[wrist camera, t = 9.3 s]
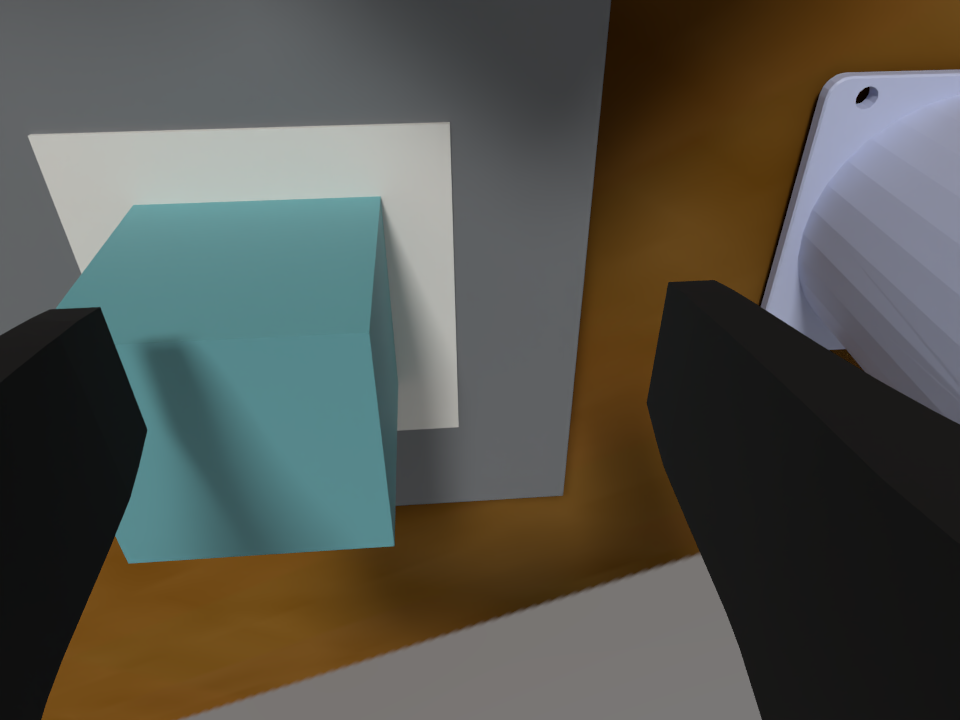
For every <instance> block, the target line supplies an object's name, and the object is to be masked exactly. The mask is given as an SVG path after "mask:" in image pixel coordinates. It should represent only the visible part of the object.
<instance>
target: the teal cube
mask: <svg viewBox="0 0 960 720" xmlns="http://www.w3.org/2000/svg"><path fill="white" fill-rule="evenodd" d="M90 307H101V310H102V313H103V315H104V318H105V320H106V323H107V326H108V328H109V331H110V333H111V336H112V339H113V341H114V344H115V346H116V349H117V352H118V354H119V357H120V359H121V362H122V365H123V367H124V370H125V372H126V375H127V378H128V380H129V383H130V385H131V388H132V391H133V393H134V396H135V398H136V401H137V404H138V406H139V409H140V411H141V414H142V417H143V419H144V422H145V424H146V427H147V435H146V439H145V443H144V447H143V452H142V456H141V460H140V464H139V468H138V472H137V476H136V479H135V483H134V487H133V490H132V494H131V498H130V500H129V503H128V505H127V508H126V510H125V513H124V515H123V518H122V520H121V523H120V525H119V527H118V530H117V532H116V535H115V536H116V538H117V540H118V542H119V545H120V547H121V549H122V551H123V553H124V555H125V557H126V559H127V561H128V563H143V562H158V561H173V560H189V559H204V558H219V557H235V556H250V555H266V554H281V553H296V552H312V551H327V550H342V549H358V548H373V547H389V546H394V544H395V502H396V460H397V418H398V376H397V365H396V355H395V344H394V333H393V323H392V312H391V301H390V291H389V280H388V269H387V258H386V248H385V237H384V226H383V216H382V205H381V196H376V197H348V198H319V199H291V200H263V201H234V202H206V203H178V204H149V205H133V206H132V207H131V209H130V210H129V211H128V213H127V214H126V215H125V217H124V218H123V219H122V221H121V222H120V223H119V225H118V226H117V227H116V229H115V230H114V231H113V233H112V234H111V235H110V237H109V238H108V239H107V241H106V242H105V243H104V245H103V246H102V247H101V249H100V250H99V251H98V253H97V254H96V255H95V257H94V258H93V259H92V261H91V262H90V263H89V265H88V266H87V267H86V269H85V270H84V271H83V273H82V274H81V275H80V277H79V278H78V279H77V281H76V282H75V283H74V285H73V286H72V287H71V289H70V290H69V291H68V293H67V294H66V295H65V297H64V298H63V299H62V301H61V302H60V303H59V305H58V306H57V307H56V309H67V308H90Z"/></svg>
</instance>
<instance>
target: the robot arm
mask: <svg viewBox="0 0 960 720" xmlns="http://www.w3.org/2000/svg"><path fill="white" fill-rule="evenodd" d="M866 87H870V89H869V94H868V96H867V98H866V99H865V100H864V101H862V102H861V103H858V104H856V97H857V96H858V94H859V92H860V91H862V90H863V89H864V88H866ZM837 349H846V350H847V351H848V352H849V353H850V355H851V356H852V357H853V358H854V359H855V361H856V362H857V363H858V364H859V365H860V366H861V368H862V369H863V370H864V371H865V372H864V371H862V370H861V369H859V368H857V367H856V366H854V365H852V364H851V363H849V362H847V361H846V360H844V359H842V358H841V357H839V356H837V355H836V354H834V353H833V352H831V351H829V350H837ZM647 406H648V410H649V414H650V418H651V421H652V425H653V429H654V433H655V437H656V441H657V444H658V448H659V451H660V455H661V458H662V462H663V465H664V468H665V470H666V473H667V475H668V478H669V480H670V483H671V485H672V487H673V490H674V492H675V495H676V497H677V499H678V502H679V504H680V506H681V509H682V511H683V513H684V516H685V518H686V521H687V523H688V525H689V527H690V530H691V532H692V534H693V537H694V539H695V541H696V544H697V546H698V548H699V551H700V553H701V555H702V558H703V560H704V562H705V565H706V567H707V569H708V571H709V574H710V576H711V578H712V581H713V583H714V585H715V587H716V590H717V592H718V595H719V597H720V599H721V601H722V604H723V606H724V609H725V611H726V613H727V616H728V618H729V621H730V624H731V626H732V629H733V632H734V634H735V637H736V640H737V642H738V645H739V648H740V651H741V654H742V657H743V660H744V663H745V667H746V670H747V673H748V676H749V679H750V683H751V686H752V689H753V692H754V695H755V698H756V702H757V705H758V708H759V711H760V714H761V718H762V720H960V70H923V71H884V72H846V73H841V74H837V75H836V76H834V77H833V78H831V79H829V81H828V82H827V83H826V84H825V85H824V86H823V88H822V90H821V92H820V95H819V98H818V102H817V105H816V109H815V113H814V116H813V120H812V123H811V127H810V131H809V134H808V138H807V141H806V145H805V149H804V152H803V156H802V160H801V163H800V167H799V170H798V174H797V178H796V181H795V185H794V188H793V192H792V196H791V199H790V203H789V206H788V210H787V214H786V217H785V221H784V225H783V228H782V232H781V235H780V239H779V243H778V246H777V250H776V253H775V257H774V261H773V264H772V268H771V271H770V275H769V279H768V282H767V286H766V290H765V293H764V297H763V300H762V304H761V307H760V306H758V305H757V304H755V303H754V302H752V301H750V300H749V299H747V298H745V297H744V296H742V295H740V294H739V293H737V292H735V291H734V290H732V289H730V288H728V287H727V286H725V285H723V284H721V283H719V282H717V281H715V280H709V281H686V282H668V288H667V293H666V299H665V304H664V310H663V316H662V321H661V327H660V332H659V338H658V343H657V349H656V354H655V360H654V365H653V371H652V377H651V382H650V388H649V393H648V399H647ZM146 435H147V427H146V424H145V422H144V419H143V417H142V414H141V411H140V409H139V406H138V404H137V401H136V398H135V396H134V393H133V391H132V388H131V385H130V383H129V380H128V378H127V375H126V372H125V370H124V367H123V365H122V362H121V359H120V357H119V354H118V352H117V349H116V346H115V344H114V341H113V339H112V336H111V333H110V331H109V328H108V326H107V323H106V320H105V318H104V315H103V313H102V310H101V307H90V308H67V309H49V310H47V311H45V312H43V313H41V314H39V315H37V316H35V317H33V318H31V319H29V320H27V321H25V322H23V323H21V324H19V325H18V326H16V327H14V328H12V329H11V330H9V331H7V332H5V333H4V334H2V335H0V720H41V718H42V715H43V712H44V708H45V705H46V702H47V699H48V696H49V694H50V691H51V688H52V686H53V683H54V680H55V678H56V675H57V672H58V670H59V667H60V664H61V662H62V659H63V657H64V654H65V652H66V650H67V647H68V645H69V643H70V640H71V638H72V636H73V633H74V631H75V629H76V626H77V624H78V622H79V619H80V617H81V615H82V612H83V610H84V608H85V605H86V603H87V601H88V598H89V596H90V594H91V591H92V589H93V587H94V584H95V582H96V580H97V577H98V575H99V573H100V570H101V568H102V566H103V563H104V561H105V559H106V556H107V554H108V551H109V549H110V547H111V544H112V542H113V539H114V537H115V535H116V532H117V530H118V527H119V525H120V523H121V520H122V518H123V515H124V513H125V510H126V508H127V505H128V503H129V500H130V498H131V494H132V490H133V487H134V483H135V479H136V476H137V472H138V468H139V464H140V460H141V456H142V452H143V447H144V443H145V439H146Z"/></svg>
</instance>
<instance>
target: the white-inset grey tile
mask: <svg viewBox="0 0 960 720" xmlns="http://www.w3.org/2000/svg"><path fill="white" fill-rule="evenodd" d="M610 6H611V0H0V335H2V334H4V333H5V332H7V331H9V330H11V329H12V328H14V327H16V326H18V325H19V324H21V323H23V322H25V321H27V320H29V319H31V318H33V317H35V316H37V315H39V314H41V313H43V312H45V311H47V310H49V309H56V307H57V306H58V305H59V303H60V302H61V301H62V299H63V298H64V297H65V295H66V294H67V293H68V291H69V290H70V289H71V287H72V286H73V285H74V283H75V282H76V281H77V279H78V278H79V277H80V275H81V274H82V273H83V271H84V270H85V269H86V267H87V266H88V265H89V263H90V262H91V261H92V259H93V258H94V257H95V255H96V254H97V253H98V251H99V250H100V249H101V247H102V246H103V245H104V243H105V242H106V241H107V239H108V238H109V237H110V235H111V234H112V233H113V231H114V230H115V229H116V227H117V226H118V225H119V223H120V222H121V221H122V219H123V218H124V217H125V215H126V214H127V213H128V211H129V210H130V209H131V207H132V206H133V205H149V204H178V203H206V202H234V201H263V200H291V199H319V198H348V197H376V196H381V205H382V216H383V226H384V237H385V248H386V258H387V269H388V280H389V291H390V301H391V312H392V323H393V333H394V344H395V355H396V365H397V376H398V418H397V460H396V502H395V506H400V505H416V504H433V503H449V502H465V501H481V500H498V499H514V498H530V497H546V496H562V495H563V490H564V479H565V469H566V459H567V449H568V438H569V428H570V418H571V407H572V397H573V387H574V376H575V366H576V356H577V346H578V335H579V325H580V315H581V304H582V294H583V284H584V274H585V263H586V253H587V243H588V232H589V222H590V212H591V201H592V191H593V181H594V171H595V160H596V150H597V140H598V129H599V119H600V109H601V99H602V88H603V78H604V68H605V57H606V47H607V37H608V26H609V16H610Z"/></svg>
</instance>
